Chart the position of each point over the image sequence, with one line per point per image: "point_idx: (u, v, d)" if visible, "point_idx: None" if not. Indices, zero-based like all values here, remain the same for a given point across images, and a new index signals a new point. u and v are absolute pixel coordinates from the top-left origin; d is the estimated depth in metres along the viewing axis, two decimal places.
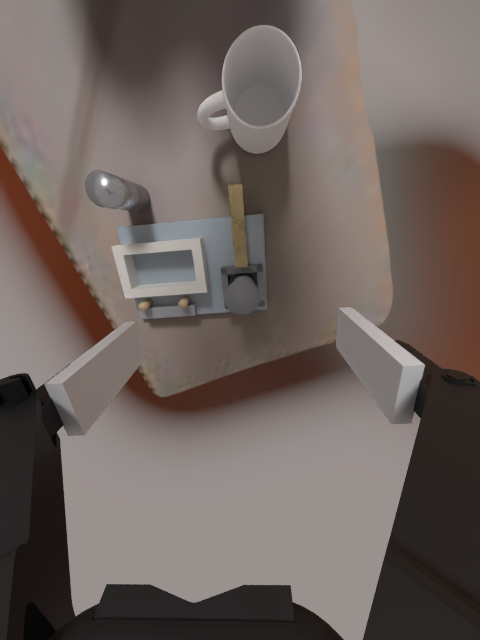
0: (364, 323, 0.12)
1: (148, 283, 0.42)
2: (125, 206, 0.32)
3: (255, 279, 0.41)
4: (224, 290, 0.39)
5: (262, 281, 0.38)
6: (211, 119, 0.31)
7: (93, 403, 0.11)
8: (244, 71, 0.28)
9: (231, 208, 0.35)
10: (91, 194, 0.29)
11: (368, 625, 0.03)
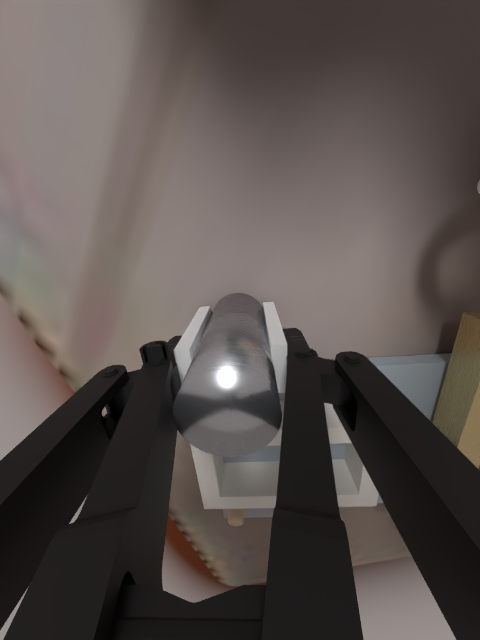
0: (271, 314, 0.14)
1: (241, 461, 0.22)
2: None
3: None
4: None
5: None
6: None
7: None
8: None
9: None
10: (190, 428, 0.09)
11: (266, 593, 0.03)
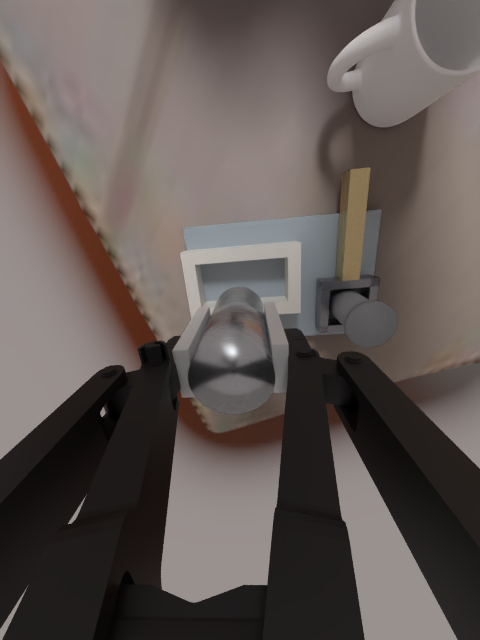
0: (272, 314, 0.14)
1: (217, 299, 0.33)
2: None
3: None
4: (322, 310, 0.30)
5: (375, 298, 0.29)
6: None
7: None
8: None
9: (350, 201, 0.25)
10: (201, 389, 0.11)
11: (267, 593, 0.03)
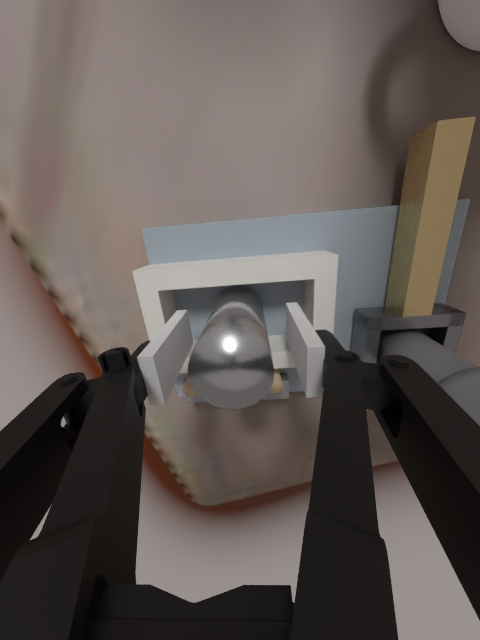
0: (298, 315, 0.14)
1: None
2: None
3: None
4: (366, 361, 0.19)
5: (454, 344, 0.18)
6: None
7: (168, 377, 0.12)
8: None
9: (430, 182, 0.14)
10: (201, 384, 0.11)
11: (296, 595, 0.03)
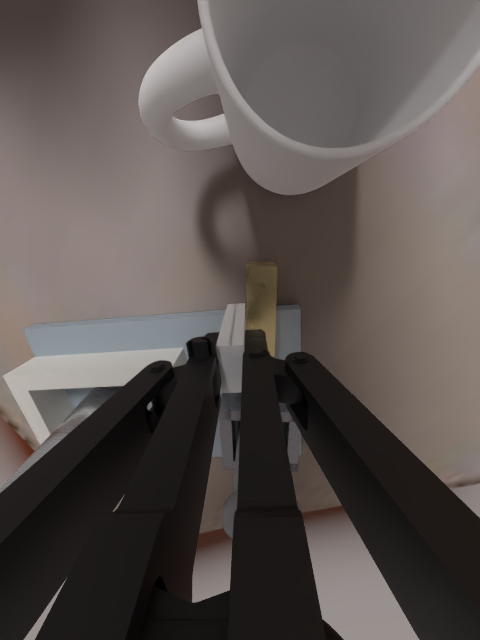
0: (239, 315, 0.15)
1: None
2: None
3: None
4: (224, 443, 0.21)
5: (298, 436, 0.20)
6: (186, 125, 0.13)
7: None
8: None
9: (249, 312, 0.16)
10: None
11: (230, 600, 0.03)
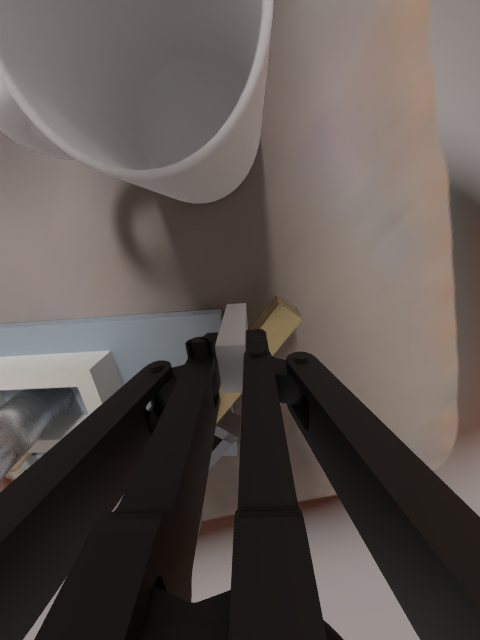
0: (239, 315, 0.15)
1: None
2: (2, 477, 0.17)
3: None
4: None
5: (221, 453, 0.21)
6: None
7: None
8: (128, 7, 0.10)
9: None
10: None
11: (230, 600, 0.03)
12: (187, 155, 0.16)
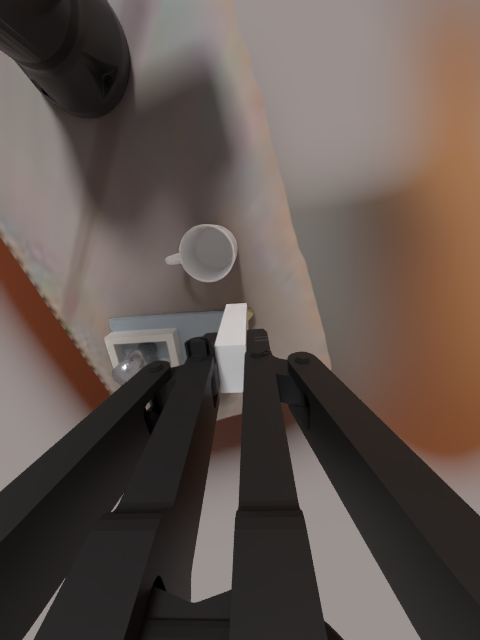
0: (240, 315, 0.15)
1: None
2: None
3: None
4: None
5: None
6: None
7: None
8: (199, 229, 0.39)
9: None
10: (117, 380, 0.42)
11: (231, 600, 0.03)
12: (211, 254, 0.44)
